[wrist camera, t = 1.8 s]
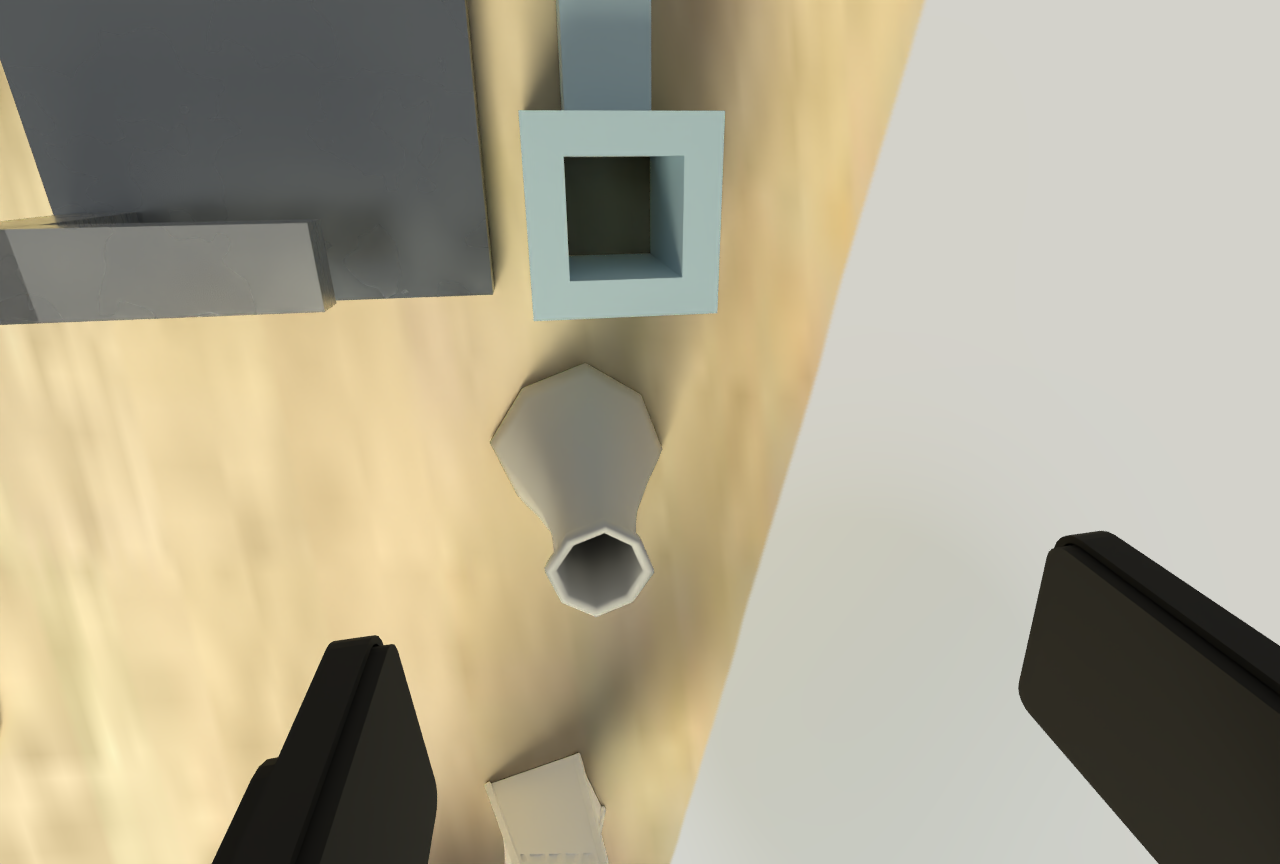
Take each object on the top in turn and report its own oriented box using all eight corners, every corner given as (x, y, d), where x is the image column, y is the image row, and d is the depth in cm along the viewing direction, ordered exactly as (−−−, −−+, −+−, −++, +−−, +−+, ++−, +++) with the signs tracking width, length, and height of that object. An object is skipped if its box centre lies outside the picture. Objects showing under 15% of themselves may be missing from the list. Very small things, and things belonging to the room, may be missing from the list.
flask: (569, 541, 31) (587, 701, 22) (459, 438, 28) (427, 572, 19) (688, 447, 30) (758, 573, 21) (587, 331, 27) (617, 417, 18)
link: (678, 282, 27) (717, 313, 21) (532, 287, 26) (533, 321, 20) (686, -268, 20) (745, -427, 15) (491, -285, 19) (476, -461, 14)
